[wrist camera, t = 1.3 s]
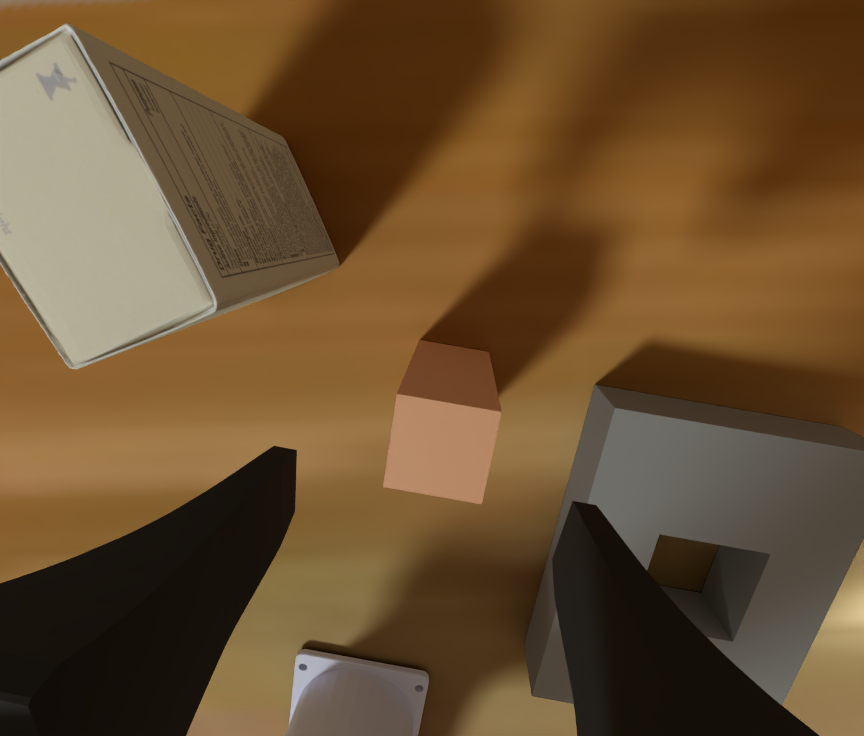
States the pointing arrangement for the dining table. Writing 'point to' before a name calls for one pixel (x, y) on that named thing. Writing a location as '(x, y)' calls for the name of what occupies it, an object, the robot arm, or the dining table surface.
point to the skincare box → (140, 200)
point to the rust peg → (444, 424)
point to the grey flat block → (718, 523)
